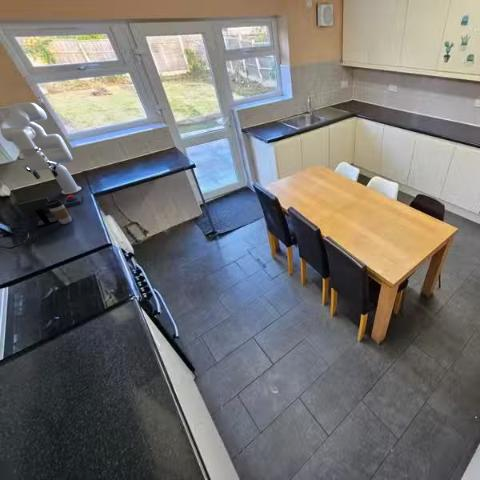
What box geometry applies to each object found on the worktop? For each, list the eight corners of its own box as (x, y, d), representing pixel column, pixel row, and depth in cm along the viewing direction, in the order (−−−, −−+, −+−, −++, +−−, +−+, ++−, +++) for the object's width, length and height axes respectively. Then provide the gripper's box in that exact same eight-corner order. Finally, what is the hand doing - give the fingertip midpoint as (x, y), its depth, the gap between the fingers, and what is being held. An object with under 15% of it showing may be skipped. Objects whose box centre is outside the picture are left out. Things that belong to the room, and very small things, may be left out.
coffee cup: (65, 225, 176) (51, 205, 166) (55, 224, 177) (40, 204, 168) (77, 218, 182) (64, 199, 173) (67, 217, 184) (53, 198, 174)
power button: (68, 197, 199) (66, 195, 198) (74, 196, 201) (72, 194, 200) (68, 199, 197) (66, 197, 196) (74, 198, 198) (72, 196, 197)
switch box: (66, 201, 202) (63, 196, 200) (81, 197, 206) (78, 193, 204) (66, 207, 195) (62, 202, 193) (81, 203, 199) (78, 198, 197)
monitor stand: (39, 222, 180) (29, 208, 173) (58, 217, 184) (48, 204, 178) (38, 227, 175) (27, 213, 169) (57, 222, 179) (47, 208, 173)
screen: (29, 216, 174) (18, 203, 168) (56, 210, 180) (46, 196, 174) (28, 218, 173) (17, 204, 166) (56, 211, 179) (46, 197, 173)
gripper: (49, 147, 169) (65, 173, 180) (16, 150, 165) (34, 177, 176) (44, 151, 164) (61, 177, 174) (9, 155, 160) (28, 181, 170)
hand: (47, 177), depth 175 cm, fingers open, 9 cm apart
